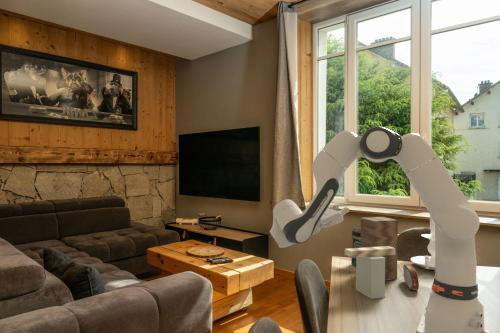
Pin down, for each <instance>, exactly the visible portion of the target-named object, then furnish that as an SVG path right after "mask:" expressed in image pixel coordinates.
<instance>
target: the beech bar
mask: <svg viewBox="0 0 500 333" xmlns="http://www.w3.org/2000/svg"><path fill="white" fill-rule="evenodd" d="M384 255H395V248H393V247H390V246H381V247H365V248H353V247H351V248H349V247H348V248H344V256H346V257H348V258H350V259H352V258H355V257H370V256H384Z"/></svg>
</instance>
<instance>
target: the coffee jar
mask: <svg viewBox="0 0 500 333" xmlns="http://www.w3.org/2000/svg"><path fill="white" fill-rule="evenodd" d="M351 239H352V248H360V246H361V227H357V228H353V229H352V232H351ZM350 259H351V265H352V266H354V267H356V257H355V258H350Z"/></svg>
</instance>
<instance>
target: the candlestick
mask: <svg viewBox="0 0 500 333" xmlns="http://www.w3.org/2000/svg"><path fill="white" fill-rule="evenodd" d="M429 229H430V233H425V234H423V233H422V234H421V235H420V236H421V237H424V238H425V239H428V240H429V243H428V245H427V251H428V253H429V254H430V256H429V255H417V256H413V257H412V256H411V258H410V261H411V262H412V263H414V264H415V265H417V266H419V267H420V268H422V269H423V268H424V269H425V270H431V271H435V222H434V220H433V219H432V217H431V215H430V214H429Z"/></svg>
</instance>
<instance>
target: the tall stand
mask: <svg viewBox="0 0 500 333" xmlns="http://www.w3.org/2000/svg"><path fill="white" fill-rule="evenodd" d="M398 222H399V220H398V219H394V218H389V217H386V216H372V217H371V216H369V217H360V228H361V246H360V248H365V247H381V246H390V247H393V248H395V255H384V256H382V257H384V258H385V281H389V280H398V239H399V238H398V234H399V232H398V228H399V226H398V225H399V224H398Z"/></svg>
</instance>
